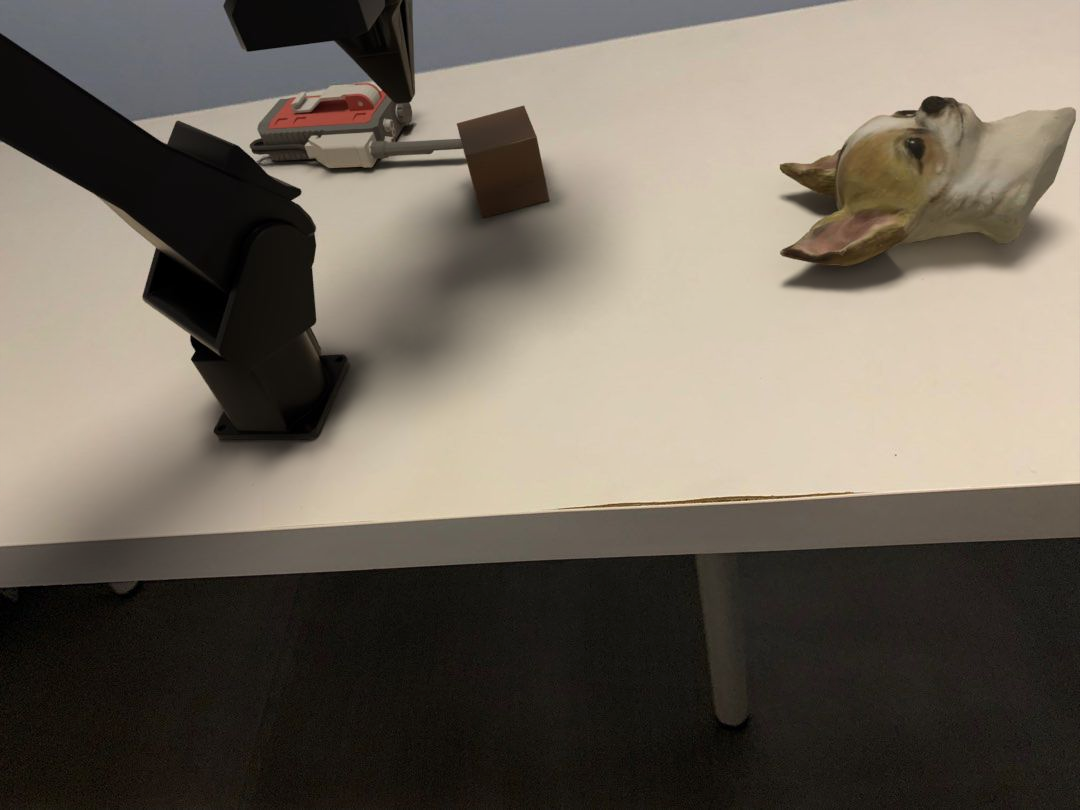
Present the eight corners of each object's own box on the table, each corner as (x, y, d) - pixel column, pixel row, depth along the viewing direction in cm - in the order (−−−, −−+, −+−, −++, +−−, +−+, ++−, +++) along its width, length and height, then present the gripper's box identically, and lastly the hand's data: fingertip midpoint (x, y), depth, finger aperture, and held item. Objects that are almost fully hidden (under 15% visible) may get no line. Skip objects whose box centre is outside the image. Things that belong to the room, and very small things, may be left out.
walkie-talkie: (244, 177, 72) (465, 168, 66) (221, 130, 68) (450, 115, 63) (288, 124, 77) (494, 111, 72) (268, 78, 74) (482, 60, 68)
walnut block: (549, 200, 60) (536, 136, 57) (482, 218, 60) (464, 155, 57) (536, 167, 64) (524, 105, 60) (473, 184, 64) (456, 123, 60)
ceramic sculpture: (1111, 132, 39) (775, 169, 44) (1075, 281, 45) (782, 300, 50) (1059, 34, 46) (775, 75, 51) (1034, 173, 52) (781, 199, 57)
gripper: (419, -220, 29) (512, 179, 40) (514, -308, 42) (565, 14, 53) (140, -163, 32) (299, 196, 43) (308, -262, 44) (398, 35, 55)
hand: (405, 100), depth 48 cm, fingers closed
